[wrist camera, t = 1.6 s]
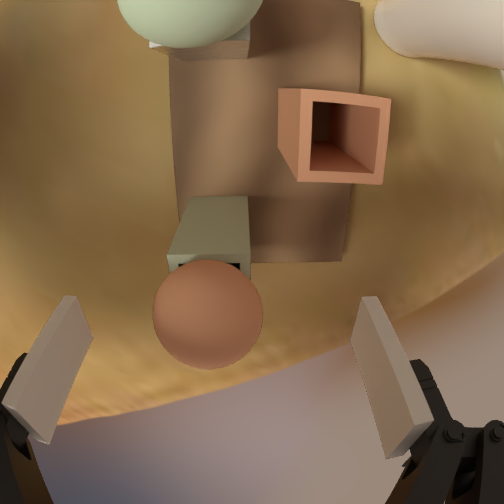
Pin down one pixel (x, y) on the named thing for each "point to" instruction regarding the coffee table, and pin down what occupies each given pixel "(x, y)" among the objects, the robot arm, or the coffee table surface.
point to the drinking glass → (444, 29)
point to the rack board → (268, 126)
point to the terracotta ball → (207, 314)
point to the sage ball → (187, 20)
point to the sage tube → (213, 233)
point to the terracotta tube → (334, 136)
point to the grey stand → (212, 48)
